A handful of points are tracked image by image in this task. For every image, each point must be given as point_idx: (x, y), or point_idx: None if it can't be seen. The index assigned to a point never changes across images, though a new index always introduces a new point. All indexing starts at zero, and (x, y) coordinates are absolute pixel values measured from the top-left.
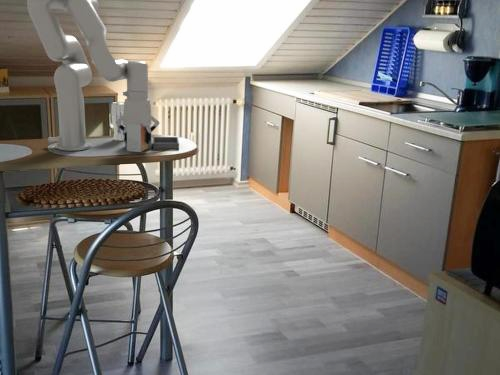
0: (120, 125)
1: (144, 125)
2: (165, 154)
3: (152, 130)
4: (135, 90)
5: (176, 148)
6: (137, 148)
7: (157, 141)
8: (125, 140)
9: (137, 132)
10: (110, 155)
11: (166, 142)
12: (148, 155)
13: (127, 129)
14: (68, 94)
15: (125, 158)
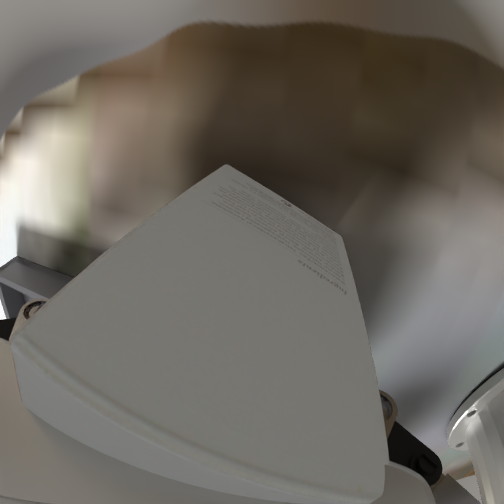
0: (431, 483)
1: (12, 361)
2: (64, 139)
3: (14, 321)
4: None
5: (20, 261)
6: (249, 185)
7: None
8: None
9: (191, 264)
10: (467, 201)
11: None
12: (173, 117)
13: (372, 395)
14: None
15: (386, 55)
